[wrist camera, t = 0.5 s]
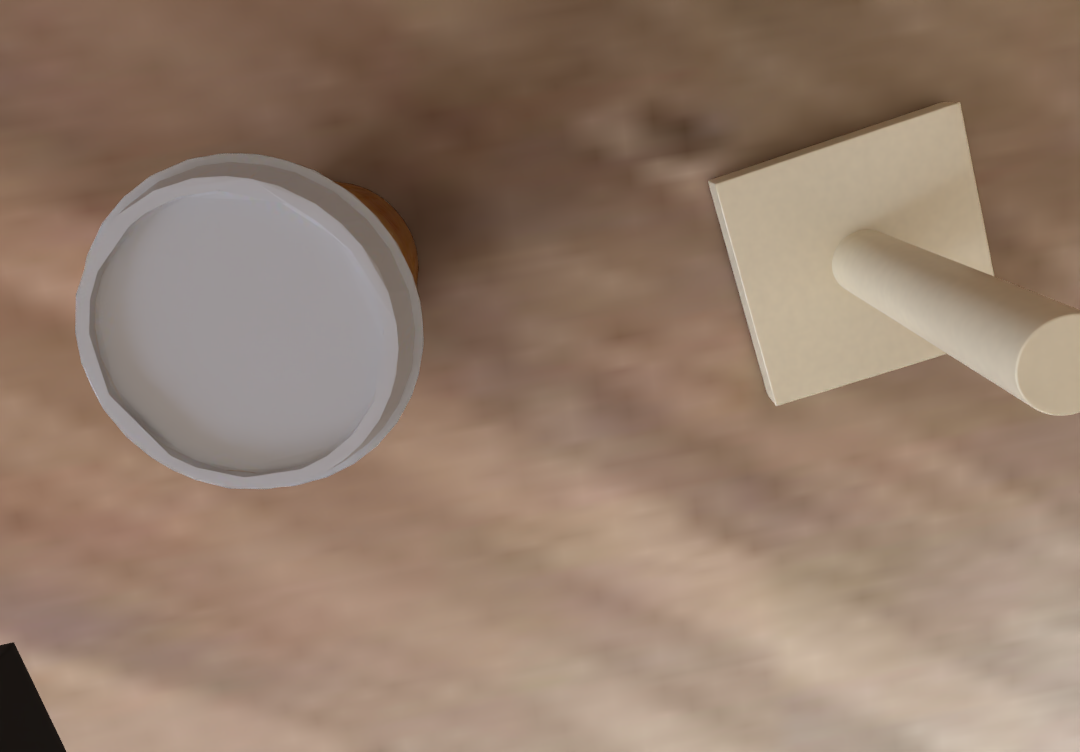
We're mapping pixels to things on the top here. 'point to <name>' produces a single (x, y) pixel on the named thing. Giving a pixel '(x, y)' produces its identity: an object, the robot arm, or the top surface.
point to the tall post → (885, 267)
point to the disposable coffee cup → (251, 320)
